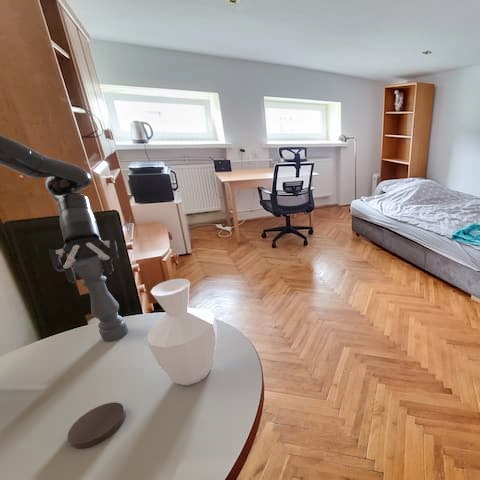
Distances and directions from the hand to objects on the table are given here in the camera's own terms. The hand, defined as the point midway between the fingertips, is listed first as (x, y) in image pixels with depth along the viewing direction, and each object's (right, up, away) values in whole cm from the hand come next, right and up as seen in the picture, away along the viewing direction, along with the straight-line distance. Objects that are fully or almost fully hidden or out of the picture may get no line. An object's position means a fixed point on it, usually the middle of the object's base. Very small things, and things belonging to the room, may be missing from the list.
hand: (91, 277), depth 78 cm
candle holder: (-1, -19, +9) cm, 21 cm away
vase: (+31, -24, -5) cm, 39 cm away
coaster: (+19, -29, -18) cm, 39 cm away
